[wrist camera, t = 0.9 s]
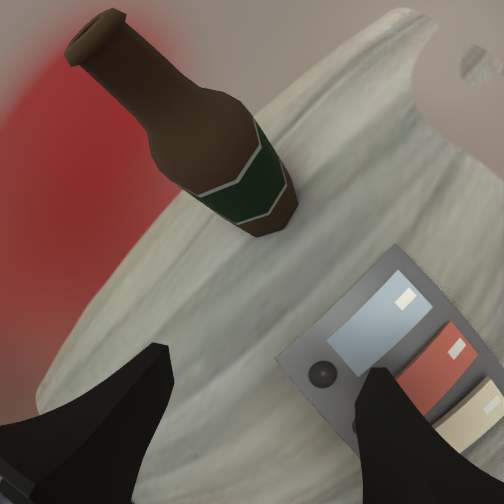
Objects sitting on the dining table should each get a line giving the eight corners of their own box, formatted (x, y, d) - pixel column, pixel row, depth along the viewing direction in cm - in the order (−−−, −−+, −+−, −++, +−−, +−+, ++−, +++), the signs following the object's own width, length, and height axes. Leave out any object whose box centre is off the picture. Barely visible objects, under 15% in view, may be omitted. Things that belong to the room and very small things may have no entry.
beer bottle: (273, 158, 31) (133, -20, 10) (315, 206, 28) (168, -24, 6) (219, 202, 32) (41, 67, 11) (253, 254, 29) (24, 116, 8)
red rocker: (472, 355, 15) (478, 354, 14) (406, 425, 15) (410, 428, 14) (445, 322, 17) (451, 320, 16) (378, 392, 17) (380, 394, 16)
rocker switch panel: (503, 387, 16) (522, 396, 12) (399, 480, 17) (401, 502, 14) (391, 255, 24) (395, 242, 20) (287, 353, 25) (272, 358, 21)
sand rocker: (507, 403, 12) (511, 408, 11) (437, 462, 14) (438, 469, 13) (487, 375, 13) (491, 379, 12) (415, 437, 15) (415, 443, 14)
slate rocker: (431, 306, 17) (433, 307, 16) (360, 373, 18) (357, 377, 18) (398, 270, 18) (397, 269, 17) (329, 338, 20) (326, 340, 19)
